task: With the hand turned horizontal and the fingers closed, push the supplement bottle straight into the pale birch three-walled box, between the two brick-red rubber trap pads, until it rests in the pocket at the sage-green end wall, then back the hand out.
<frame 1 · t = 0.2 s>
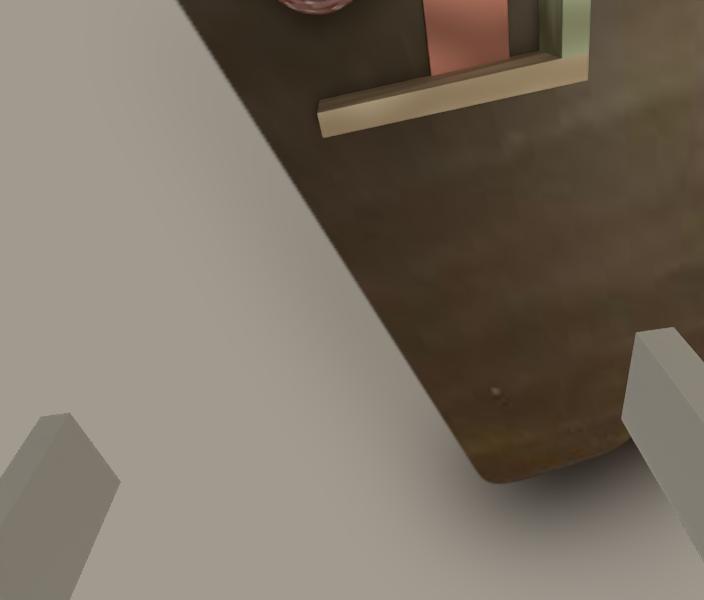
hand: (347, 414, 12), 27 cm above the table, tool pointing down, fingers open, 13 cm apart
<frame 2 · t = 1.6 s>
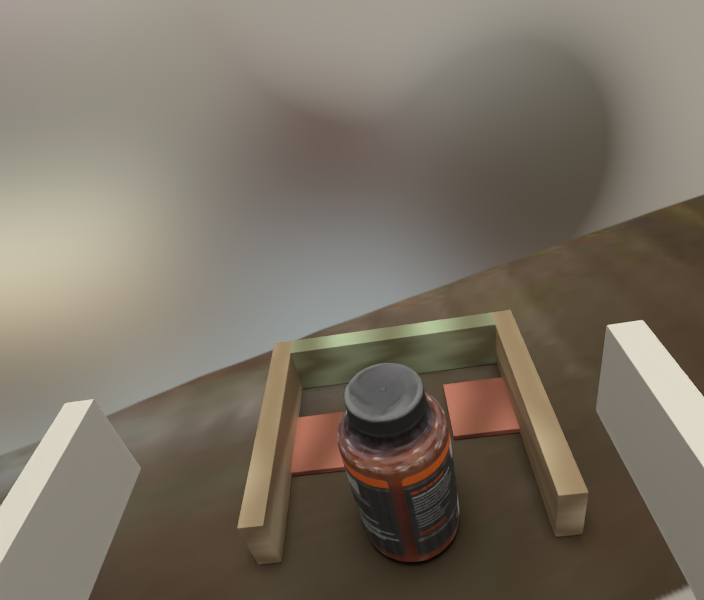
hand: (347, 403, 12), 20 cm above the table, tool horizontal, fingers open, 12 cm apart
supplement bottle: (411, 520, 31), on the table
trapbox: (403, 439, 36), on the table
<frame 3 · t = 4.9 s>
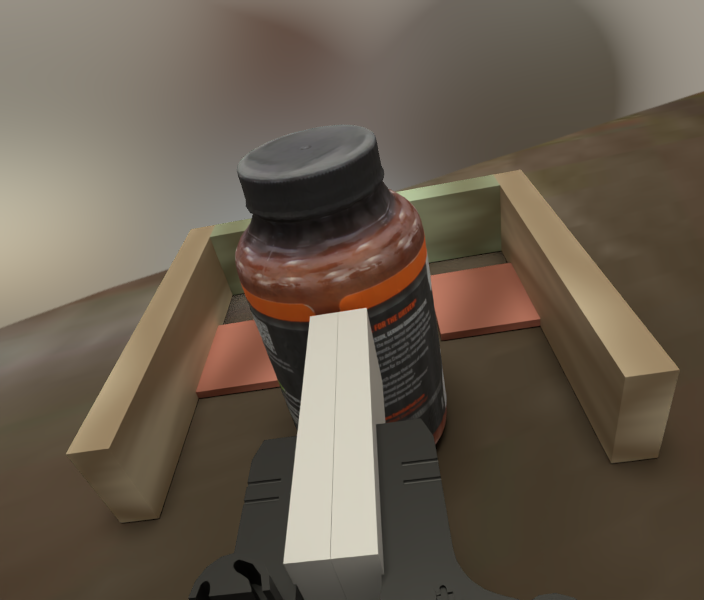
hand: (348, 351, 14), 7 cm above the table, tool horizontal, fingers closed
supplement bottle: (374, 425, 20), on the table, touching gripper
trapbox: (367, 344, 24), on the table
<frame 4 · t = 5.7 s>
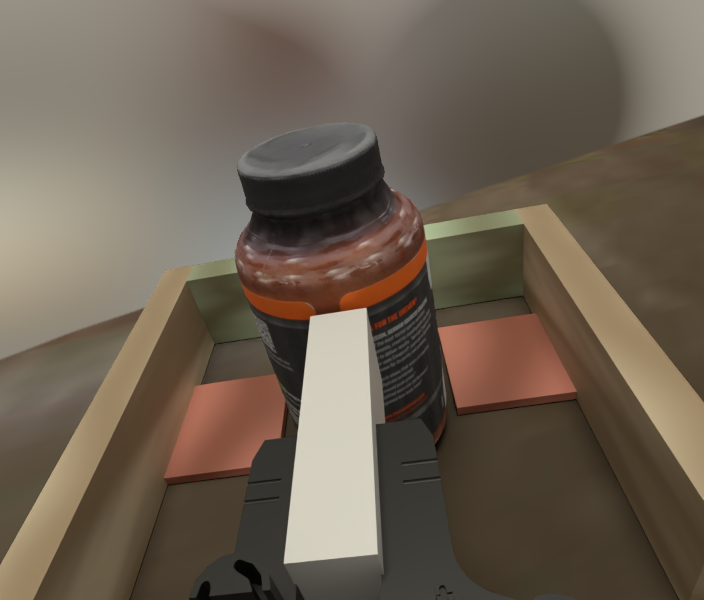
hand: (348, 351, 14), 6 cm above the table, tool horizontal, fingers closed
supplement bottle: (374, 424, 20), on the table, touching gripper
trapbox: (368, 417, 20), on the table
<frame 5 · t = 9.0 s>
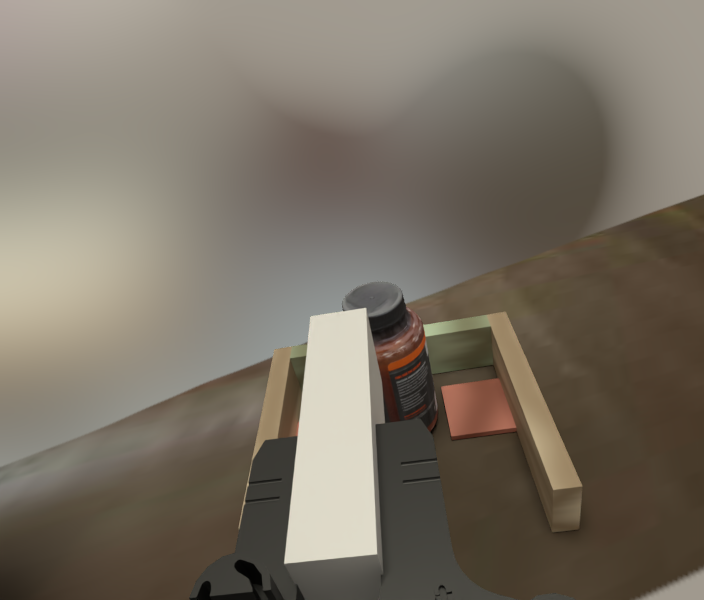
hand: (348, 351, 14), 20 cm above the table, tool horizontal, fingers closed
supplement bottle: (400, 421, 38), on the table
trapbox: (402, 441, 36), on the table
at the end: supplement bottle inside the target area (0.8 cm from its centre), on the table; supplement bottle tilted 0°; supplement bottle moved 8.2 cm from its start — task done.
